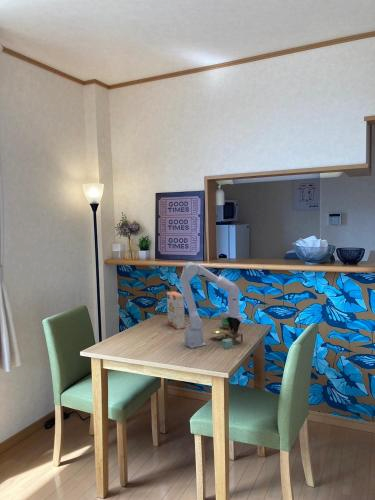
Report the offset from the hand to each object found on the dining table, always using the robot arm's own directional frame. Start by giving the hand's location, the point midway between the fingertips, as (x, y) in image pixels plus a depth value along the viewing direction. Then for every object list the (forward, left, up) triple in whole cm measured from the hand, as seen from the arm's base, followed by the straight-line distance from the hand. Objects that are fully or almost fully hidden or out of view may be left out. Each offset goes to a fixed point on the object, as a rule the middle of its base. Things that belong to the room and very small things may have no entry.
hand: (234, 331), depth 220 cm
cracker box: (-12, +46, -6) cm, 48 cm away
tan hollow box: (0, 0, -6) cm, 6 cm away
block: (-8, -5, -6) cm, 11 cm away
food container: (+11, +22, -6) cm, 25 cm away
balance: (+1, +10, -6) cm, 12 cm away
